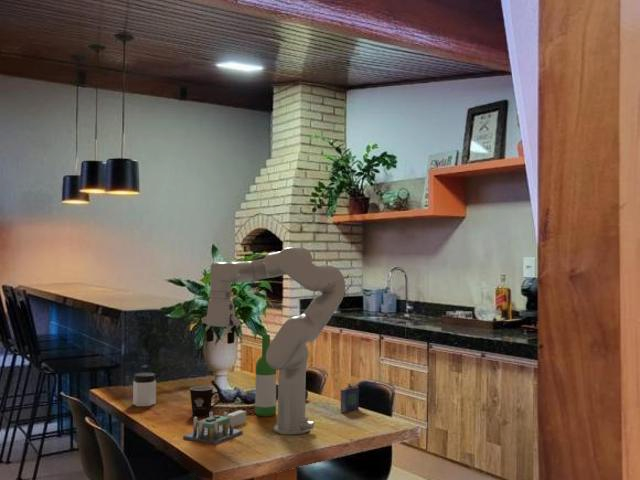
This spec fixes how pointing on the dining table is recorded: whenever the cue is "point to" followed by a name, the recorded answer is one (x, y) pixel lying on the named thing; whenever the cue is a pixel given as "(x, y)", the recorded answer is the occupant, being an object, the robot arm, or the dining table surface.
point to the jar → (144, 389)
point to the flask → (349, 399)
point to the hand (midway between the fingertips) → (220, 342)
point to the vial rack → (213, 432)
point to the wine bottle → (265, 383)
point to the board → (210, 421)
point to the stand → (238, 418)
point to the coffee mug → (202, 400)
